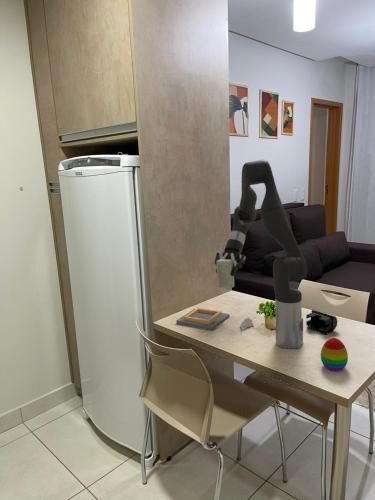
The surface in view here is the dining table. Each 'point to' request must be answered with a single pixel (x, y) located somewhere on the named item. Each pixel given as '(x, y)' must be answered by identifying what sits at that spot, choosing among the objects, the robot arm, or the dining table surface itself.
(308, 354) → the dining table surface
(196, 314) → the grey wood framed tray
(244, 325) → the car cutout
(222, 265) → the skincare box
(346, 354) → the decorative egg
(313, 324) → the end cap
